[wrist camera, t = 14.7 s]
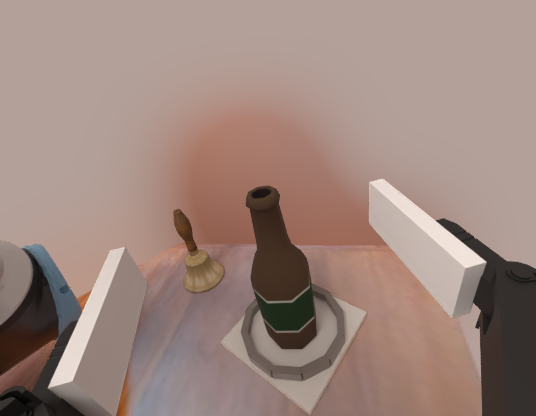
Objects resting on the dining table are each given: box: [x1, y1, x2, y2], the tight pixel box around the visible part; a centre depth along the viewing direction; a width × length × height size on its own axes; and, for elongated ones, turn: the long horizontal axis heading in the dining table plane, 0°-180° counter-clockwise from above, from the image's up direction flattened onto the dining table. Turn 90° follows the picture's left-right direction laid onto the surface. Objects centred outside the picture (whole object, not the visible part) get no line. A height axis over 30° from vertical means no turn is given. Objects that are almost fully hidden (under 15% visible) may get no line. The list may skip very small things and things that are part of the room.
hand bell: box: [174, 209, 224, 293], centre depth 52 cm, size 8×8×16 cm
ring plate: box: [220, 284, 367, 416], centre depth 42 cm, size 16×16×2 cm
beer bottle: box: [246, 186, 317, 349], centre depth 36 cm, size 8×8×24 cm
